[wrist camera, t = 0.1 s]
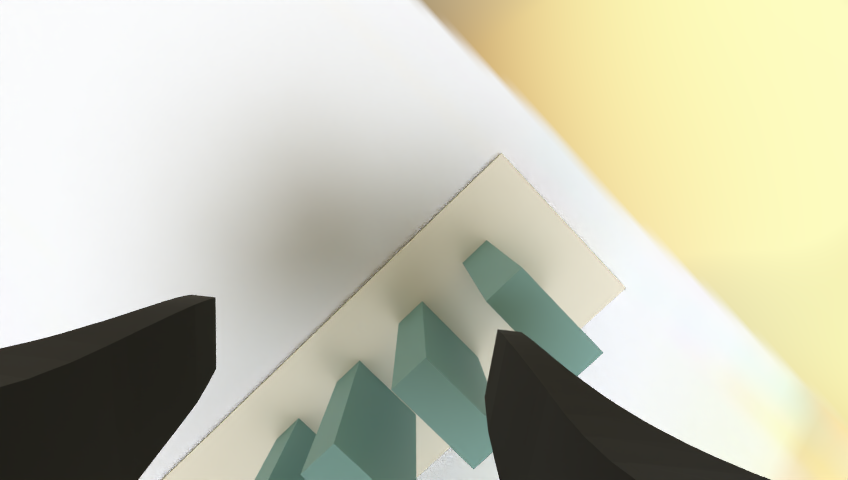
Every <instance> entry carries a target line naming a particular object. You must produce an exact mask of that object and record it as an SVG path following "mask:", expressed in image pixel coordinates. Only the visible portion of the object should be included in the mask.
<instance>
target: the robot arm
mask: <svg viewBox="0 0 848 480" xmlns="http://www.w3.org/2000/svg"><path fill="white" fill-rule="evenodd" d="M215 370H216V307H215V297H206V296H197V295H187V296H182V297H178V298H174V299H171V300H167V301H164V302H161V303H158V304H155V305H151V306H148V307H145V308H142V309H139V310H136V311H133V312H130V313H127V314H124V315H121V316H118V317H115V318H112V319H109V320H105V321H102V322H99V323H95V324H92V325H89V326H85V327H82V328H78V329H75V330H72V331H68V332H65V333H62V334H58V335H54V336H51V337H47V338H43V339H39V340H35V341H31V342H27V343H23V344H18V345H14V346H9V347H5V348H1V349H0V480H138V479H139V478H140V477H141V475H142V474H143V473H144V471H145V470H146V469H147V467H148V466H149V465H150V464H151V462H152V461H153V460H154V458H155V457H156V456H157V455H158V453H159V452H160V451H161V449H162V448H163V447H164V445H165V444H166V443H167V442H168V440H169V439H170V438H171V436H172V435H173V434H174V433H175V431H176V430H177V429H178V427H179V426H180V425H181V423H182V422H183V421H184V419H185V418H186V417H187V415H188V414H189V413H190V411H191V410H192V409H193V407H194V406H195V405H196V403H197V402H198V400H199V398H200V397H201V395H202V393H203V392H204V390H205V388H206V386H207V385H208V383H209V381H210V379H211V377H212V375H213V373H214V372H215ZM484 398H485V408H486V418H487V426H488V434H489V438H490V442H491V446H492V450H493V455H494V459H495V463H496V467H497V471H498V475H499V479H500V480H770V479H767V478H765V477H762V476H759V475H757V474H754V473H752V472H749V471H747V470H745V469H742V468H740V467H738V466H735V465H733V464H731V463H728V462H726V461H723V460H721V459H719V458H716V457H714V456H712V455H710V454H708V453H705V452H703V451H701V450H699V449H697V448H695V447H693V446H690V445H688V444H686V443H685V442H683V441H681V440H679V439H677V438H675V437H673V436H671V435H669V434H667V433H665V432H663V431H661V430H659V429H657V428H656V427H654V426H652V425H650V424H648V423H647V422H645V421H643V420H641V419H640V418H638V417H636V416H635V415H633V414H631V413H630V412H628V411H627V410H625V409H623V408H622V407H620V406H618V405H617V404H615V403H614V402H612V401H611V400H609V399H608V398H606V397H605V396H603V395H602V394H600V393H599V392H598V391H596V390H595V389H593V388H592V387H591V386H589V385H588V384H586V383H585V382H584V381H582V380H581V379H580V378H578V377H577V376H576V375H575V374H573V373H572V372H571V371H569V370H568V369H567V368H566V367H564V366H563V365H562V364H561V363H560V362H558V361H557V360H556V359H555V358H553V357H552V356H551V355H550V354H549V353H547V352H546V351H545V350H544V349H543V348H541V347H540V346H539V345H538V344H537V343H535V342H534V341H533V340H532V339H530V338H529V337H528V336H526V335H525V334H523V333H522V332H518V331H509V330H500V329H497V334H496V339H495V345H494V350H493V355H492V360H491V366H490V371H489V376H488V381H487V386H486V392H485V397H484Z"/></svg>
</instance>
